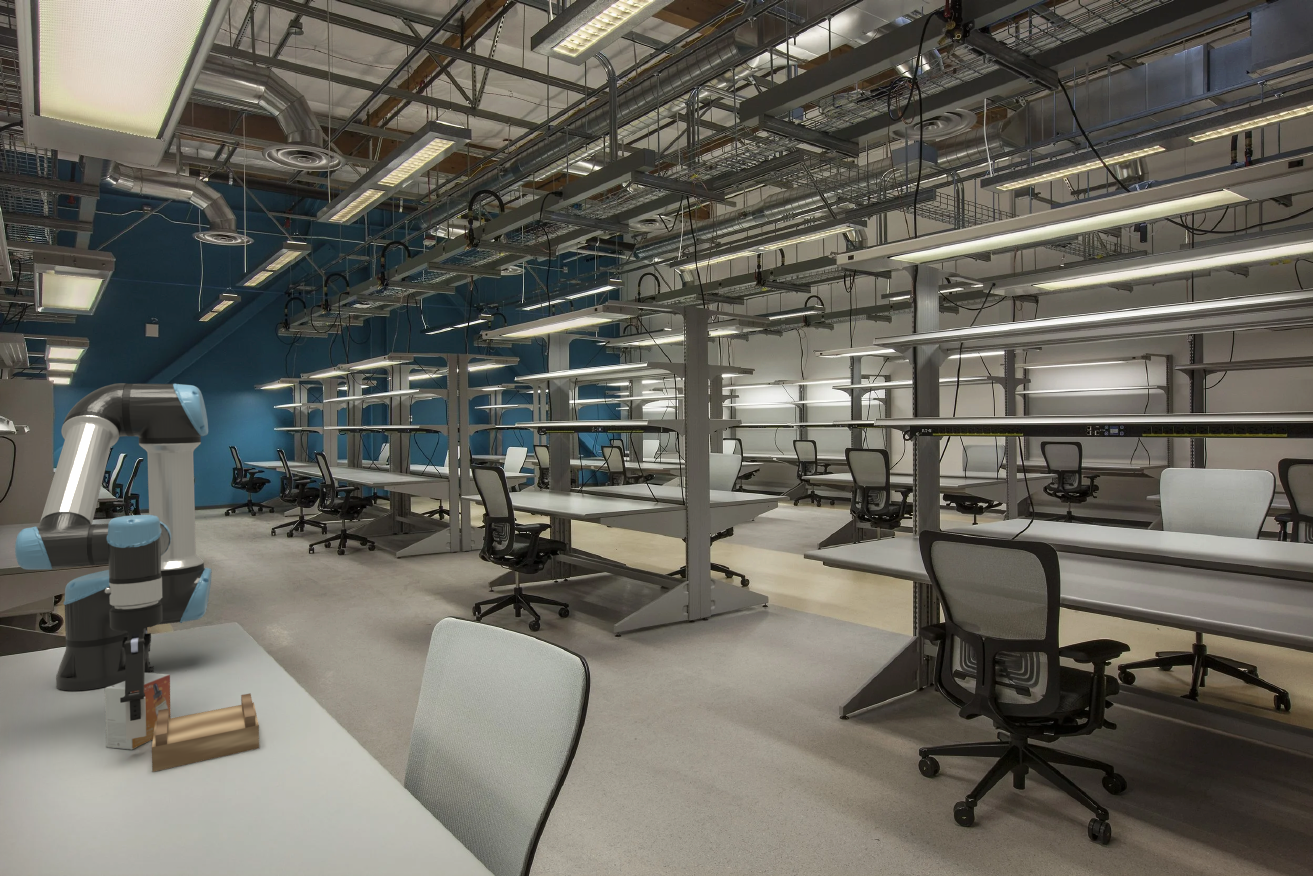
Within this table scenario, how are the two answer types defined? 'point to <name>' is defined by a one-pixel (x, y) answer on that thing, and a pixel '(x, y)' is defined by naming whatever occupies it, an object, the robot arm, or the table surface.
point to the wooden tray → (204, 735)
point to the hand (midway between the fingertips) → (138, 723)
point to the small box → (116, 711)
